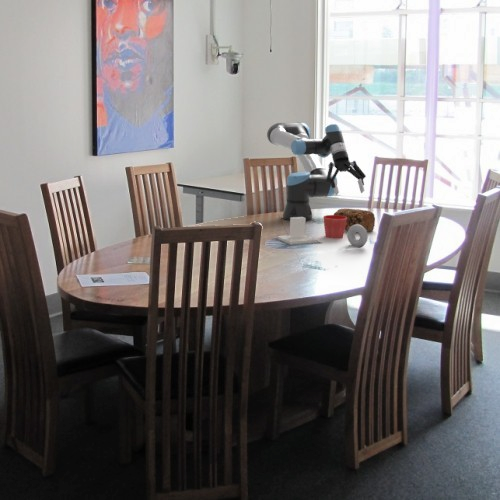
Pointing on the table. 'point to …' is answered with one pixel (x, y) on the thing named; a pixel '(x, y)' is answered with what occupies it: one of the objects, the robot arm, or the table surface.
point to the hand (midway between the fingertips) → (350, 192)
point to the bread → (358, 218)
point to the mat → (297, 244)
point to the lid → (297, 232)
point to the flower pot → (334, 226)
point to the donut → (362, 233)
